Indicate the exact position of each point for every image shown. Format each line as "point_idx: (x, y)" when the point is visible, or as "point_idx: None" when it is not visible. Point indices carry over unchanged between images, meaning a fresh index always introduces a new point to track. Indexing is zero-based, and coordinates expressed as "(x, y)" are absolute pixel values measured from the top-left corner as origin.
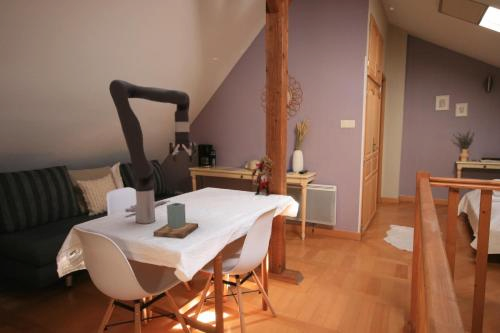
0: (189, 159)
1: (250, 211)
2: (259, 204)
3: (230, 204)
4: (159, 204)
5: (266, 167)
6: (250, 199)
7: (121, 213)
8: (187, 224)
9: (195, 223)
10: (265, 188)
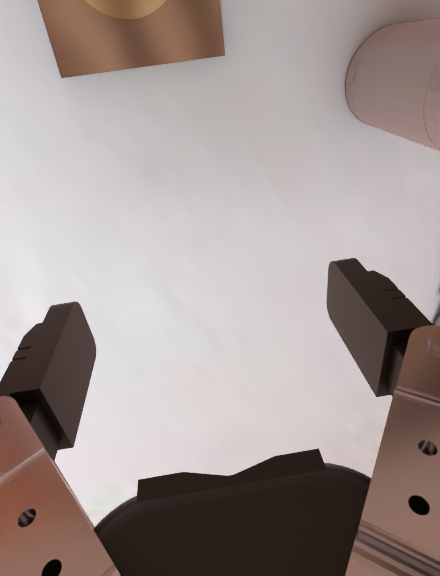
0: (54, 334)
1: None
2: None
3: (166, 416)
4: (436, 321)
5: None
6: (137, 479)
7: None
8: (103, 34)
9: (75, 71)
10: None
